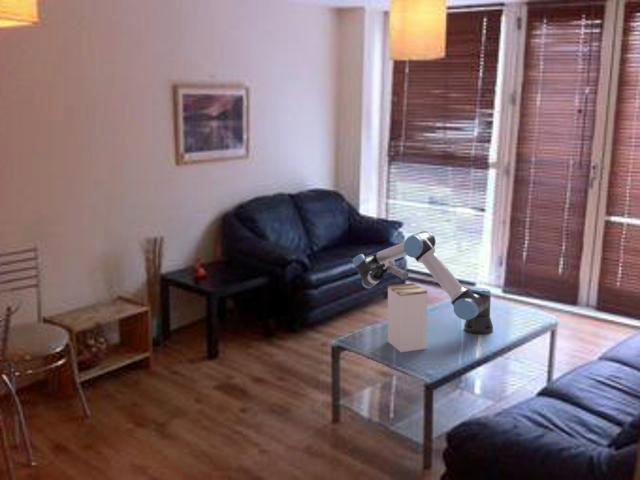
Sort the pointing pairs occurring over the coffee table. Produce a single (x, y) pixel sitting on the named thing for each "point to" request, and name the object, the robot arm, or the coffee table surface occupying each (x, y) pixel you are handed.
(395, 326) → the pedestal
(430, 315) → the coffee table surface
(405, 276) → the metal bar
